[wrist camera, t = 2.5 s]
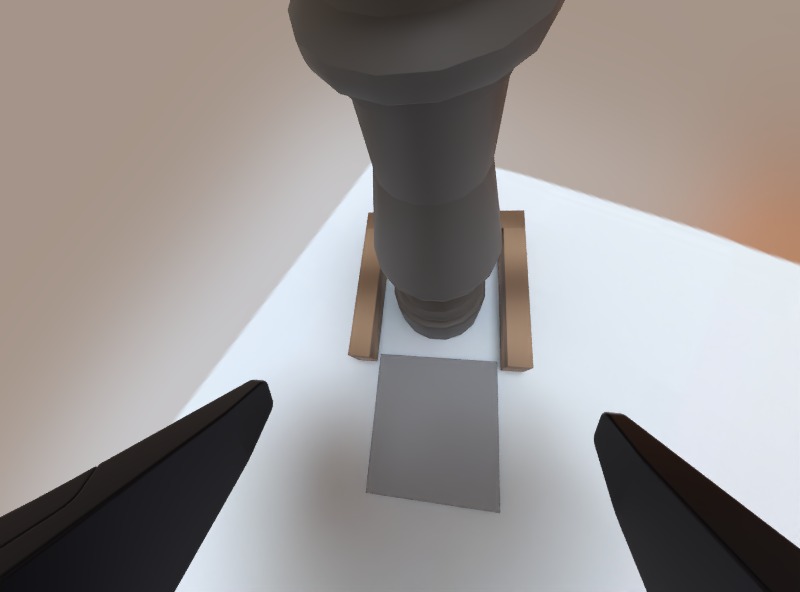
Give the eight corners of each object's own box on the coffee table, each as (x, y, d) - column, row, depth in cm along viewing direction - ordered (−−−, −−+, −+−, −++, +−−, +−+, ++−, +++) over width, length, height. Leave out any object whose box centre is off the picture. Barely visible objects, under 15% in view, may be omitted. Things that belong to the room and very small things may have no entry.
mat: (499, 511, 18) (499, 513, 18) (367, 491, 19) (366, 492, 19) (496, 362, 21) (497, 362, 21) (381, 354, 22) (381, 354, 22)
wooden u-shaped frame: (523, 371, 20) (533, 368, 18) (358, 359, 22) (348, 354, 20) (516, 228, 24) (524, 210, 22) (375, 229, 26) (368, 212, 24)
